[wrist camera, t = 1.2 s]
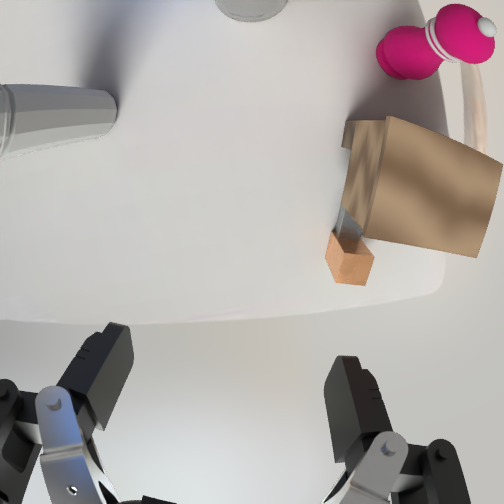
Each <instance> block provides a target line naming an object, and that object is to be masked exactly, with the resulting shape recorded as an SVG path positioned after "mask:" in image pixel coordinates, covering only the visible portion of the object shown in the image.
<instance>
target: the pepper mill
mask: <svg viewBox="0 0 504 504" xmlns="http://www.w3.org/2000/svg"><path fill="white" fill-rule="evenodd" d="M496 32H497V30H496V26H495V24H494V23H493V22H492V21H491V20H490V19H488V18H483V17H482V16H481V15H480V14H479V13H478V12H477V11H475V10H474V9H472V8H470V7H468V6H465V5H462V4H450V5H447V6H445V7H443V8H441V9H440V10H439V12H438V14H437V16H436V17H434V18H432V19H430V20H429V21H428V22H427V24H426V27H424V28H419V27H415V26H399V27H396V28H394V29H392V30H390V31H389V32H388V33H387V35H386V37H385V39H383V40H382V41H381V42H380V43H379V44H378V46H377V49H376V56H377V60H378V62H379V64H380V66H381V67H382V69H383V70H384V71H385V72H386V73H387V74H389V75H390V76H392V77H394V78H397V79H408V78H409V79H414V80H420V79H424V78H427V77H429V76H431V75H432V74H433V73H434V72H436V71H437V69H438V68H439V66H440V64H441V63H442V62H443V61H444V60H446V61H449V62H459V61H464V62H466V63H471V64H478V63H482V62H485V61H487V60H488V59H489V58H490V57H491V56H492V54H493V52H494V48H495V41H494V36H495V35H496Z"/></svg>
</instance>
